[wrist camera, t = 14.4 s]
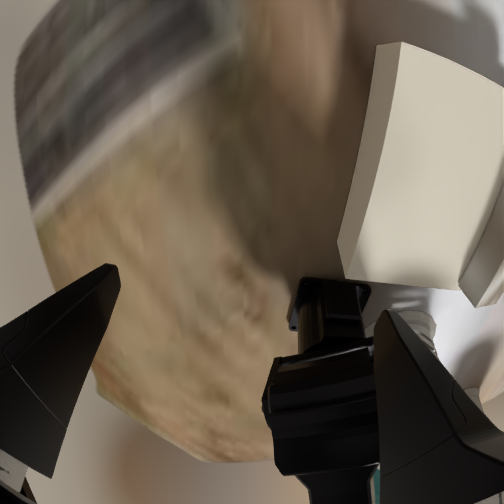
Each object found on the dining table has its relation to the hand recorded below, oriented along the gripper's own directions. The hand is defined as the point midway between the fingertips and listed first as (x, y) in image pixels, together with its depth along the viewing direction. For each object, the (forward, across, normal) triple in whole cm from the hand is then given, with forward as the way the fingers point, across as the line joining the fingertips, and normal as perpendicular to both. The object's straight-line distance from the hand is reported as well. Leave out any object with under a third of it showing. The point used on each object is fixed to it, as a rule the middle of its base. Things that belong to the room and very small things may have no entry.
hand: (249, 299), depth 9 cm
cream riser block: (+13, -11, -3) cm, 17 cm away
